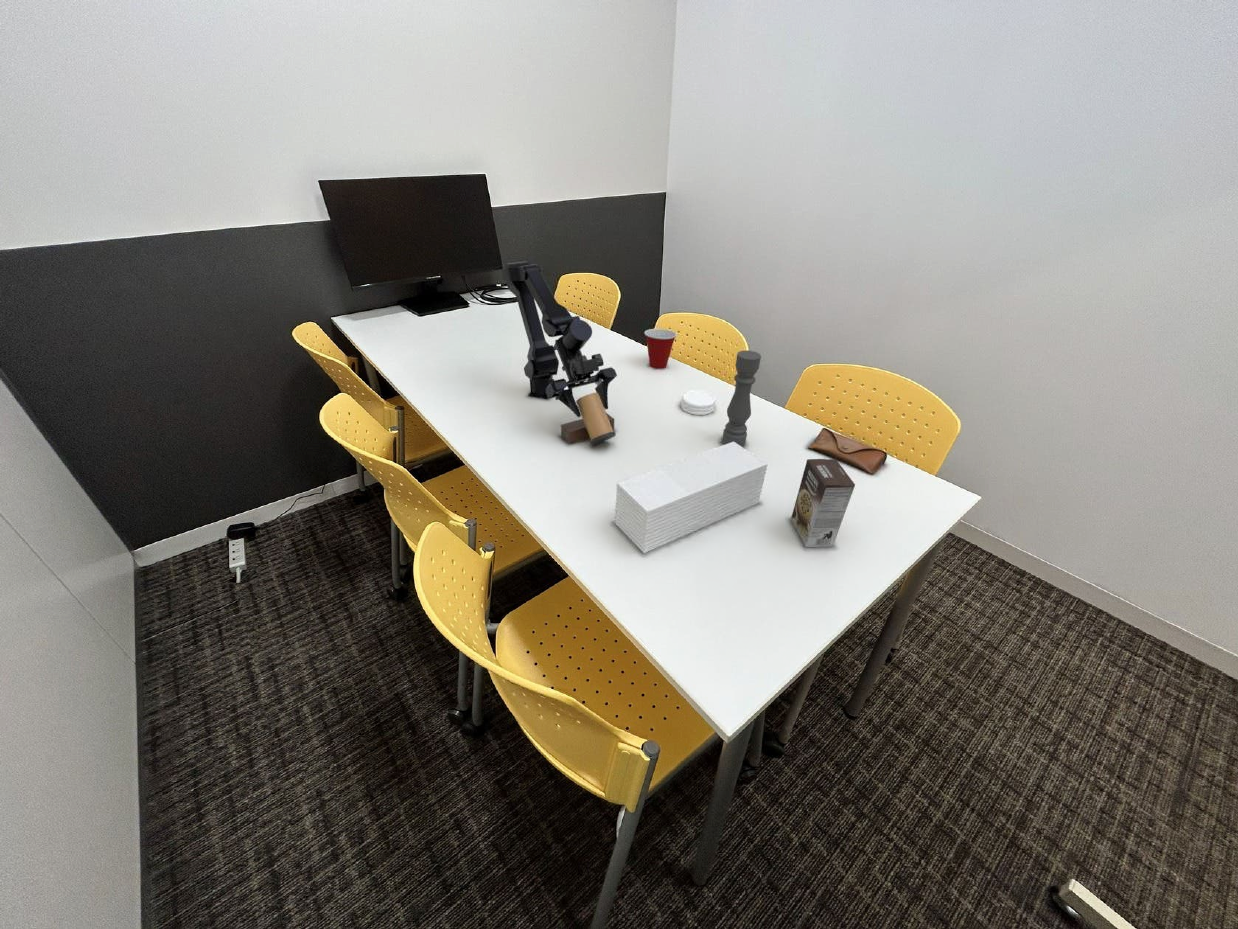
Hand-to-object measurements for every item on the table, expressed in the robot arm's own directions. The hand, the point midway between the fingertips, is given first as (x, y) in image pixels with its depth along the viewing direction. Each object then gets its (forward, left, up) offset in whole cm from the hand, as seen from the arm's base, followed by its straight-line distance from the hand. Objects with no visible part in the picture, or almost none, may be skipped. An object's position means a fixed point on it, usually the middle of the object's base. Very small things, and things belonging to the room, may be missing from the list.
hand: (593, 412), depth 138 cm
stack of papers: (+29, -24, -8) cm, 39 cm away
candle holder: (+36, +9, -8) cm, 38 cm away
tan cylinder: (+1, -1, -8) cm, 8 cm away
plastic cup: (+7, +53, -8) cm, 54 cm away
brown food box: (+55, -23, -8) cm, 60 cm away
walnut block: (-2, +2, -8) cm, 8 cm away
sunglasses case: (+65, +12, -8) cm, 67 cm away
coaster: (+24, +26, -8) cm, 37 cm away
